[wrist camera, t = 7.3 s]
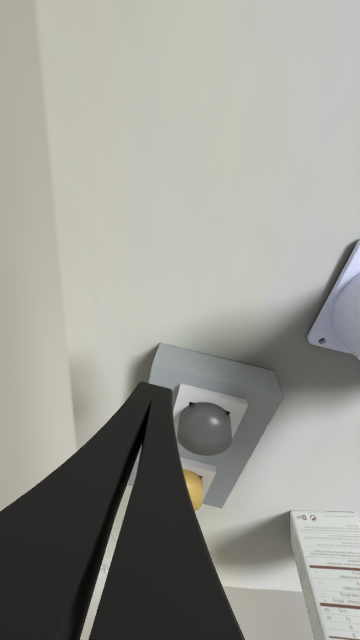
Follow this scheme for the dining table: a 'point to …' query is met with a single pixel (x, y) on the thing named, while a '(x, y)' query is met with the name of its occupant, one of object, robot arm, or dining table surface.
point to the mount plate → (227, 392)
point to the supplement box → (329, 571)
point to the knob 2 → (204, 429)
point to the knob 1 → (194, 488)
